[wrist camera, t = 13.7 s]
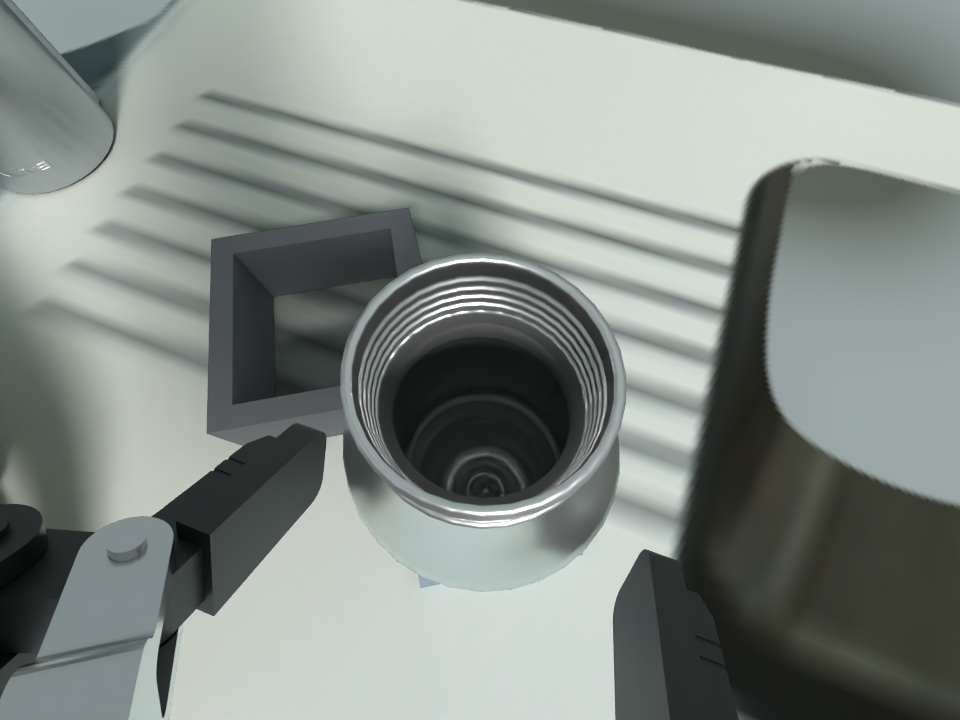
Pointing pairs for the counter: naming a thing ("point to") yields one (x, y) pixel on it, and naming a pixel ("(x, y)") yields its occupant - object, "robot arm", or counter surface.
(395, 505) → the plastic bottle
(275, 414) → the grey square frame
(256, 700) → the counter surface
